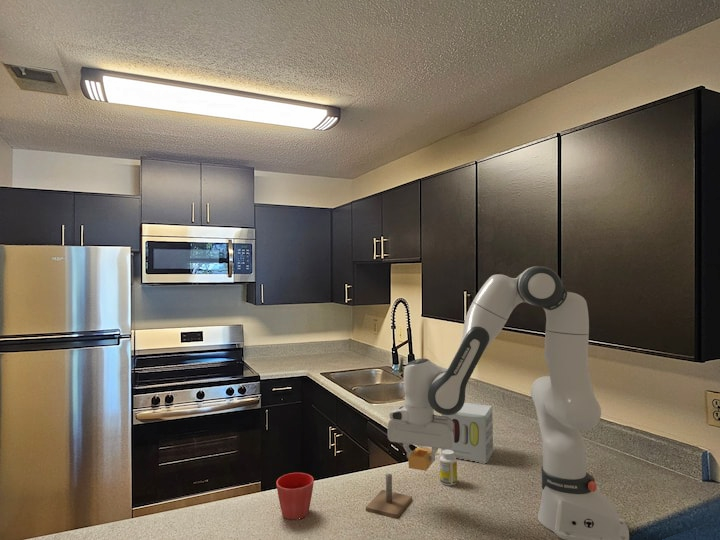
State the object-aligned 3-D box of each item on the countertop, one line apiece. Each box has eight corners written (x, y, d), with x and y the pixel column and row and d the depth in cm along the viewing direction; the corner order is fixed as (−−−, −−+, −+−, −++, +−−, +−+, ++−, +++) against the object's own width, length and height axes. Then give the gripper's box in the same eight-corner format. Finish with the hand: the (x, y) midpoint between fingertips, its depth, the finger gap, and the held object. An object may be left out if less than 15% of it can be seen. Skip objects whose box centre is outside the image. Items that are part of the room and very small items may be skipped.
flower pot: (317, 519, 132) (317, 485, 132) (278, 526, 128) (278, 491, 129) (310, 501, 142) (310, 470, 142) (274, 507, 139) (274, 475, 139)
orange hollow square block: (433, 461, 141) (433, 450, 141) (426, 470, 134) (425, 458, 134) (416, 459, 143) (416, 447, 143) (408, 467, 137) (408, 456, 137)
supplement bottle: (454, 478, 156) (453, 448, 156) (459, 485, 151) (458, 454, 151) (438, 479, 156) (437, 448, 156) (442, 486, 150) (442, 455, 150)
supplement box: (440, 457, 174) (439, 409, 175) (450, 445, 186) (449, 400, 186) (486, 465, 167) (485, 415, 167) (494, 452, 178) (493, 405, 178)
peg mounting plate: (411, 499, 142) (411, 470, 142) (397, 518, 131) (396, 486, 131) (382, 492, 147) (381, 464, 147) (365, 510, 136) (365, 480, 136)
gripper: (455, 413, 137) (457, 460, 137) (392, 407, 146) (394, 450, 146) (450, 420, 131) (452, 468, 131) (384, 412, 141) (386, 458, 141)
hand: (421, 459), depth 139 cm, fingers closed on orange hollow square block, 5 cm apart
